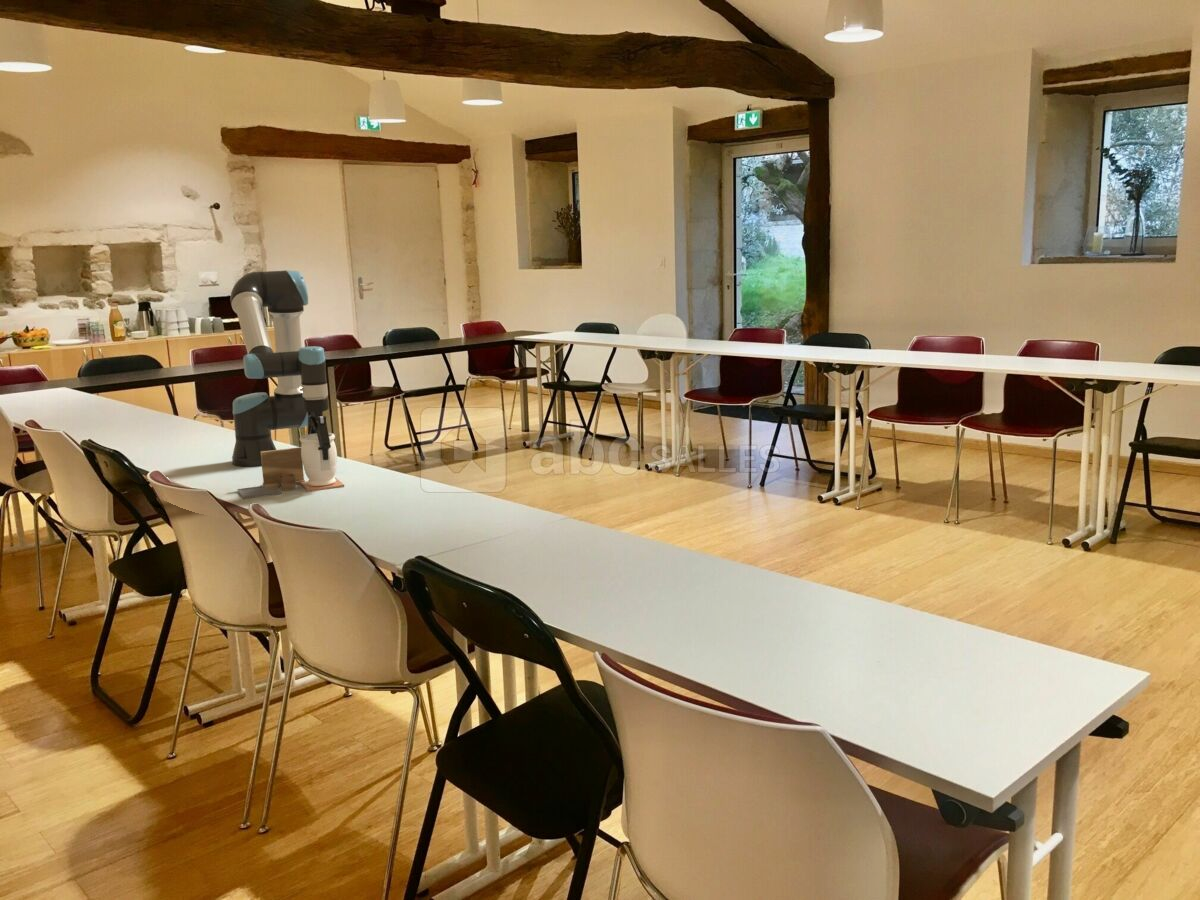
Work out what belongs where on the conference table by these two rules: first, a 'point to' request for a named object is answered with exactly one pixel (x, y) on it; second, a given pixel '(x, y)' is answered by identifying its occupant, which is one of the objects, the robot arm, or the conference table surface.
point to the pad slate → (258, 491)
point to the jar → (317, 460)
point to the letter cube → (287, 481)
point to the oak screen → (281, 465)
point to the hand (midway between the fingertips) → (320, 465)
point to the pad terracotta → (314, 488)
